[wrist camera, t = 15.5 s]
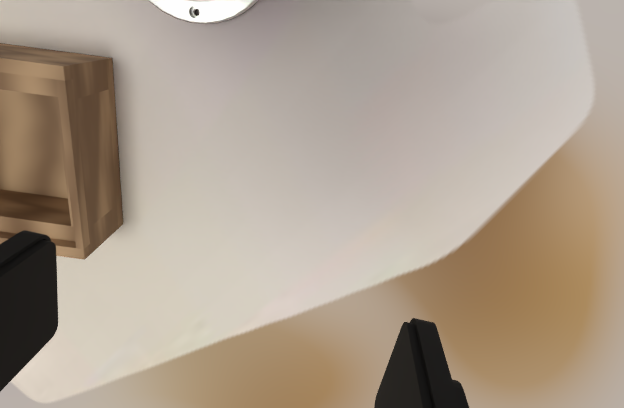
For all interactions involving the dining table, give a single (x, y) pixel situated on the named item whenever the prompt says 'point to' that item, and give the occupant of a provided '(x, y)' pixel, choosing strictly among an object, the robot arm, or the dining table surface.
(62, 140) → the walnut box
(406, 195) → the dining table surface
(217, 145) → the dining table surface
